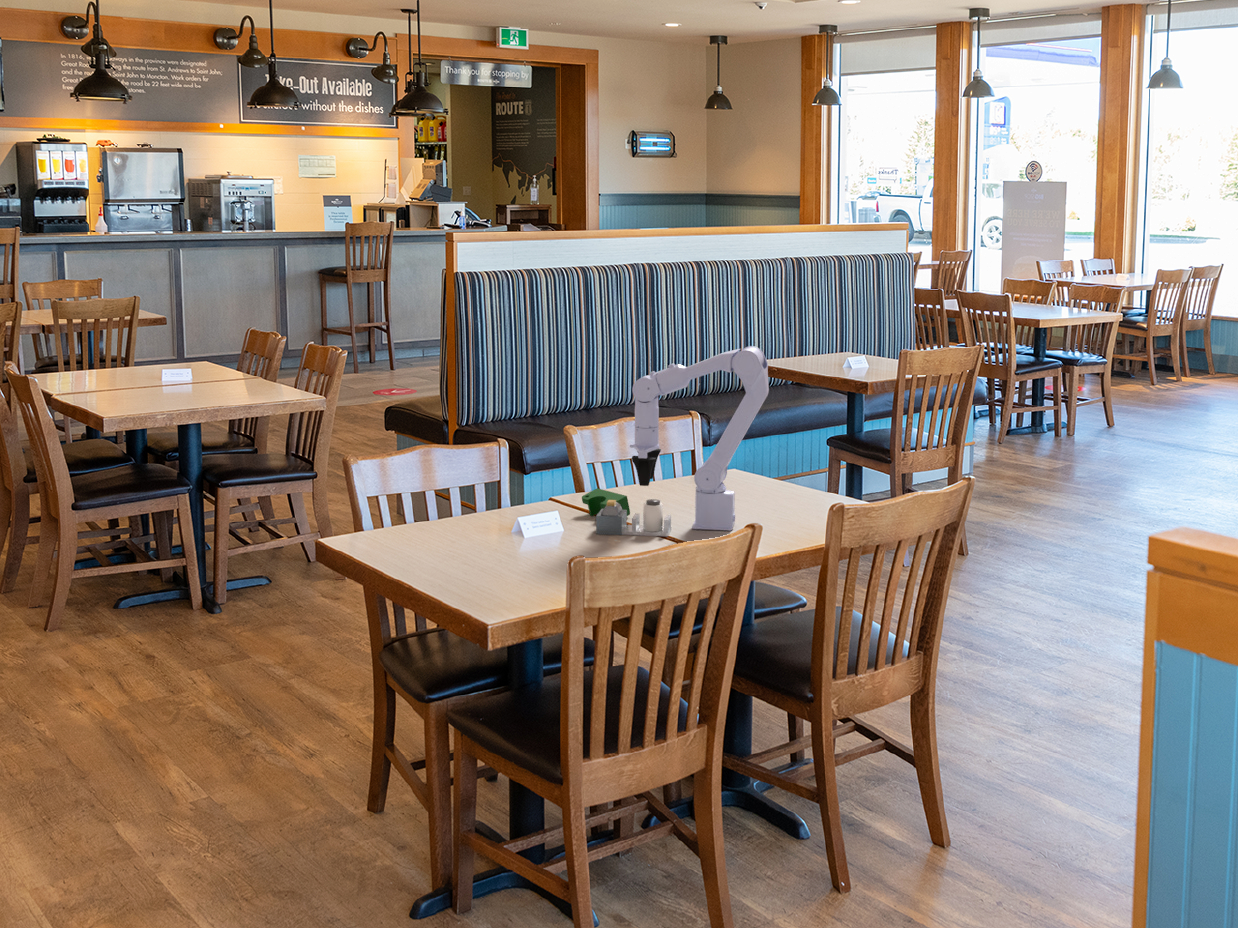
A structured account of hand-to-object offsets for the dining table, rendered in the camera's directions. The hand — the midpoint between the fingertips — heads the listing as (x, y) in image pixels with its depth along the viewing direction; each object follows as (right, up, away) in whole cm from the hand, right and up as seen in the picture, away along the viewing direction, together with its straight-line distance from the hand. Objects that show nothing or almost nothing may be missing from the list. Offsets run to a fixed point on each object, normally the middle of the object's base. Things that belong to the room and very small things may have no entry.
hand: (646, 482), depth 295 cm
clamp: (-10, -9, +8) cm, 16 cm away
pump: (+1, -11, -8) cm, 13 cm away
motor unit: (-3, -12, -7) cm, 14 cm away
